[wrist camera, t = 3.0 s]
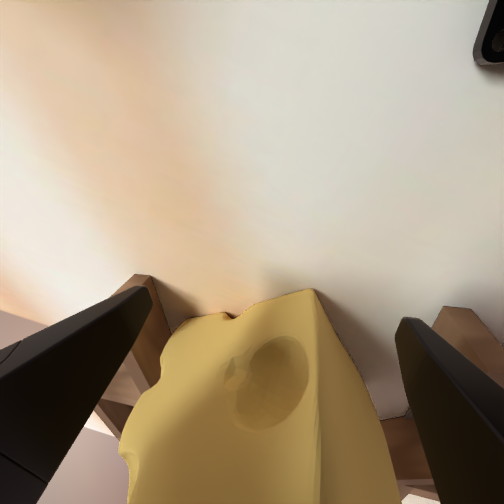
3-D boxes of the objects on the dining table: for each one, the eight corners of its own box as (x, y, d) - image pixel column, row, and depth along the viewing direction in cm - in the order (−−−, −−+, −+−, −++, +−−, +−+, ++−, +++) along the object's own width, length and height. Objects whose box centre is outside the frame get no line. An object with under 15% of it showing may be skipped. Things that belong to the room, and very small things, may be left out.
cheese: (181, 317, 17) (56, 516, 9) (322, 276, 12) (348, 617, 4) (249, 395, 21) (208, 585, 12) (376, 386, 16) (447, 677, 8)
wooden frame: (660, 328, 10) (827, 431, 7) (420, 513, 26) (435, 569, 23) (53, 265, 17) (-7, 301, 14) (161, 441, 33) (145, 477, 30)
